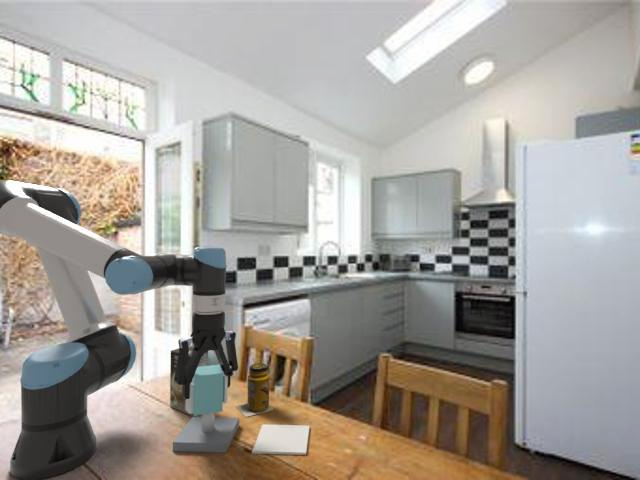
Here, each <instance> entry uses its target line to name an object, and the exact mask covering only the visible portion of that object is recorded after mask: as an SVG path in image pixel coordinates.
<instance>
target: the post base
mask: <svg viewBox="0 0 640 480" xmlns="http://www.w3.org/2000/svg"><path fill="white" fill-rule="evenodd" d="M215 415H216V412H215V413H209V414H202V415H201V416H192V417H191V419H189V421H188V423H187V424H186V425H185V426H184V427H183V429H182V430H181V431H180V432H179V434H178V435H177V436H176V437H175V439H174V440H173V441H172V452H194V453H195V452H196V453H197V452H198V453H223V454H225V453H227V450H228V449H229V447H230V446H231V442H232V441H233V439H234V437H235V435H236V433H237V431H238V429H239V427H240V417H219V416H217V417H216V416H215Z"/></svg>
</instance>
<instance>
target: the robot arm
mask: <svg viewBox="0 0 640 480" xmlns="http://www.w3.org/2000/svg"><path fill="white" fill-rule="evenodd" d="M81 216H82V208H81V205H80V202H79V201H78V199H77V198H76V197H75V195H73V194H72V193H71V192H69V191H67V190H65V189H61V188H58V187H56V186H50V185H40V184H39V185H38V184H33V183H26V182H20V181H15V180H0V234H1V235H4V236H5V237H8V238H15V237H17V238H20V239H23V240H25V243H26V244H28V245H31V246H33V247H35V248H36V251H37V254H38V256H39V259H40V262H41V264H42V267H43V268H44V272H45V275H46V277H47V280H48V282H49V285H50V287H51V290H52V293H53V296H54V297H55V301H56V303H57V306H58V308H59V310H60V311H59V312H60V313H61V315H62V319H63V322H64V324H65V326H66V327H65V328H66V329H67V332H68V334H69V335H68V338H67V340H65V341H66V342H64V343H59V344H57V345H51V346H47V347H44V348H41V349H39V350H37V351H35V352H33V353H32V354H30V355H29V356H27V358H26V359H25V360H24V362H23V363H22V367H21V368H22V369H21V376H20V387H21V388H20V393H21V394H20V395H21V396H20V397H21V398H20V401H21V402H20V403H21V404H20V405H21V408H20V409H21V418H20V419H21V424H20V425H21V426H20V427H21V430H20V434H19V436H18V439H17V440H16V443H15V446H14V449H13V451H12V452H13V453H12V455H11V457H10V459H9V460H10V463H9V464H10V465H9V473H10V475H11V476H12V477H13V478H15V479H18V480H43V479H47V478H51V477H55V476H58V475H63V474H64V473H67V472H69V471H72V470H73V469H74V470H75V469H76V468H78V467H80V466H82V465H83V464H85V463H86V462H87V461H88V460H90V459H91V458H92V457H93V456H94V454H95V453H96V450H97V436H96V435H95V433H94V430H93V427H92V424H91V422H90V419H89V415H88V396H90V395H92V394H94V393H95V392H98V391H99V390H101V389H103V388H105V387H107V386H109V385H110V384H113V383H116V382H118V381H119V380H121V379H122V378H123V377H124V376H126V375H127V374H128V373H129V372H130V371H131V369H132V368H133V367H134V364H135V362H136V358H137V348H136V344H135V342H134V340H133V339H132V338H131V336H129V335H127V334H126V333H124V332H120V330H119V329H118V326H117V323H114V322H111V321H109V320H108V319H107V317H106V313H105V312H104V308H103V306H102V303H101V301H100V299H99V296H98V293H97V291H96V288H95V285H94V284H93V280H92V277H91V276H90V273H93V274H95V275H96V276H99V277H100V278H103V279H104V280H105V283H106V284H107V286H108V287H109V289H110V290H111V292H113V293H114V294H117V295H122V296H126V295H137V294H141V293H143V292H148V291H152V290H156V289H161V288H165V287H169V286H182V287H183V286H185V287H186V286H187V287H192V307H191V308H192V311H193V313H192V316H191V317H192V319H191V320H192V321H191V322H192V323H191V326H192V327H191V329H192V331H191V334H190V336H189V337H187V338H179V339H178V341H177V342H178V347H179V355H178V360H177V365H176V371H175V376H174V381H175V382H176V383H177V384H179V385H182V397H183V398H184V399H185V400H186V407H185V410H186V411H187V412H188V413H190V414H189V415H193V413H194V385H193V384H192V383H191V382H192V379H193V377H194V374H195V372H196V369H197V367H198V364H199V362H200V359H201V357H202V356H203V355H204V352H207V351H208V352H209V351H213V352H214V354H215V356H216V359H217V361H218V365H220V367H221V369H222V371H223V404H228V388H231V380H232V379H231V377H232V376H234V372H237V371H238V369H239V365H238V364H239V363H238V356H237V349H236V341H235V340H236V338H237V337H236V336H237V333H236V332H235V331H232V330H227V331H226V330H225V325H226V313H225V311H224V310H225V309H226V279H227V278H226V277H227V267H228V266H227V253H226V250H225V249H224V248H223V247H217V246H216V247H215V246H196V247H195V248H194V249H193V252H192V254H175V253H174V254H172V253H164V252H162V253H152V254H149V255H141V254H139V253H136V252H135V251H133V250H130V249H128V248H126V247H125V246H123V245H120V244H117V243H116V242H114V241H112V240H110V239H108V238H105V237H103V236H101V235H100V234H99V235H98V234H97V233H95V232H92V231H91V230H89V229H86V228H85V227H82V226H80V225H79V223H80V222H81V218H80V217H81ZM89 272H90V273H89ZM224 340H225V347H226V353H225V352H224V347H223V345H222V342H223V341H224ZM192 344H193V345H194V346H193V347H194V348H193V350H192V356H191V358H190V361H189V363H188V366H187V368H186V365H187V359H188V354H189V348H190V346H192ZM226 354H227V355H226ZM226 356H227V357H226Z"/></svg>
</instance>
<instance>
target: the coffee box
mask: <svg viewBox="0 0 640 480" xmlns="http://www.w3.org/2000/svg"><path fill="white" fill-rule="evenodd" d="M193 348H194V346H192V345H190V348H189V354H188V359H187V365H186V368H187V366H188V363H189V361H190V358H191V356H192V350H193ZM208 354H209V351H207V352H204V355H203V356H202V357H201V359H200V362H199V364H198V367H201V366H209V355H208ZM178 355H179V348H176V349H171V350H170V369H169V370H170V379H169V380H170V383H169V384H170V386H169V387H170V389H169V393H170V394H169V395H170V396H169V407H171V408H173V409H175V410H178V411H180V412H183V413H185V414H187V415H191V414H190V413H188V412H187V411H186V410H185V407H186V400H185V399H184V398H183V397H182V385H179V384H177V383H176V382H175V381H174V376H175V371H176V365H177V360H178ZM191 383H192V382H191Z"/></svg>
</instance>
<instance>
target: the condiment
mask: <svg viewBox="0 0 640 480" xmlns="http://www.w3.org/2000/svg"><path fill="white" fill-rule="evenodd" d="M248 368H249V372H248V375H247V403H245V404H239V405H236V408H237V409H238V410H239V412H240V413H241V414H243V416H244V417H245V418H247V417H250V416H251V417H252V416H254V415H258V414H264V413H266V412H270V411H273V410H275V408H274V407H273V406H271V405H270V374H269V366H268V365H267V363H263V362H257V363H253V364H250V365H249V367H248Z"/></svg>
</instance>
